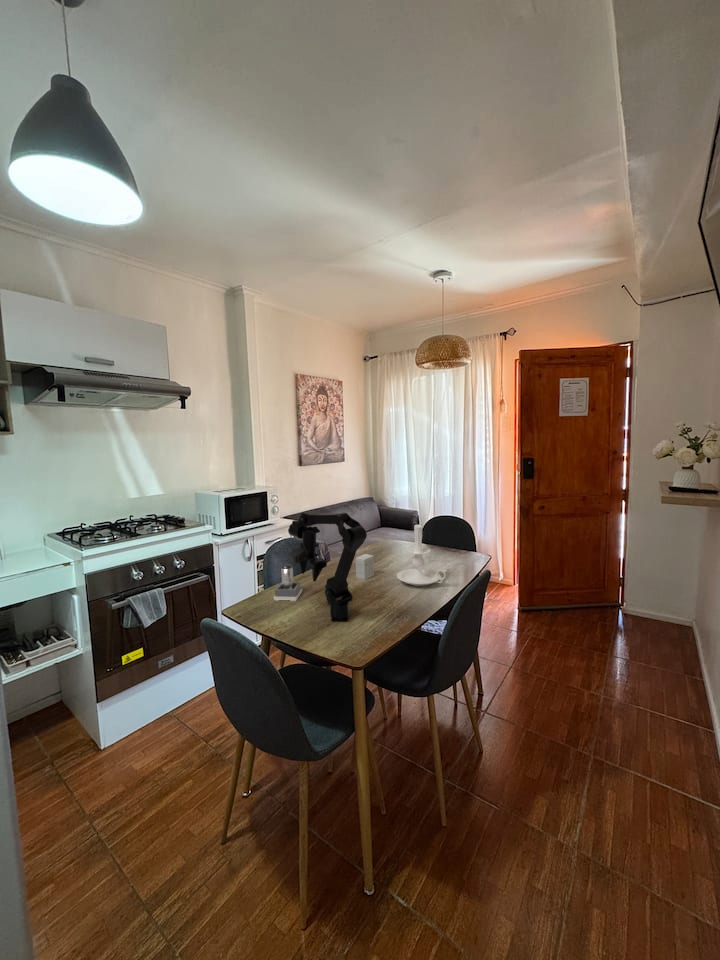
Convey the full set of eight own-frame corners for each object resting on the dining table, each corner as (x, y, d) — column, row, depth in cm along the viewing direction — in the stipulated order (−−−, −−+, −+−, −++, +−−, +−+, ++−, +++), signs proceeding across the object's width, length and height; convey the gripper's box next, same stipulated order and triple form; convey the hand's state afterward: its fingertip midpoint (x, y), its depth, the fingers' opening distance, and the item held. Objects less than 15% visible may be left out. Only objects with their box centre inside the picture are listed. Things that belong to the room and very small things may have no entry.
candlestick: (436, 596, 174) (435, 533, 171) (388, 584, 189) (387, 526, 186) (456, 581, 190) (456, 523, 187) (411, 571, 205) (410, 518, 202)
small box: (366, 573, 205) (365, 553, 204) (374, 575, 201) (374, 555, 200) (355, 578, 199) (355, 557, 198) (364, 580, 195) (364, 559, 194)
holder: (302, 591, 184) (301, 582, 183) (296, 600, 174) (295, 590, 173) (281, 591, 185) (280, 581, 184) (273, 600, 175) (273, 590, 174)
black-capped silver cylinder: (296, 591, 180) (294, 564, 178) (288, 595, 176) (286, 568, 174) (288, 589, 182) (286, 563, 181) (280, 593, 178) (278, 566, 177)
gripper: (280, 538, 167) (280, 573, 169) (303, 552, 152) (303, 590, 155) (304, 534, 173) (303, 568, 176) (328, 546, 159) (327, 583, 162)
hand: (308, 577), depth 167 cm, fingers open, 9 cm apart
